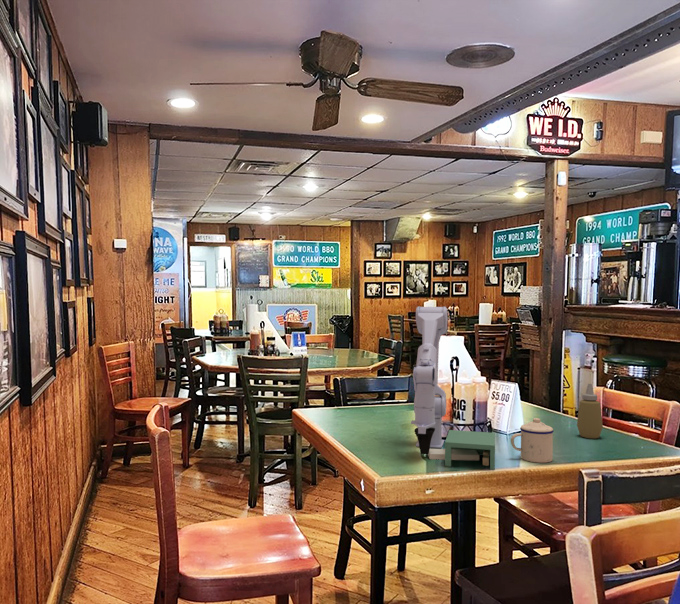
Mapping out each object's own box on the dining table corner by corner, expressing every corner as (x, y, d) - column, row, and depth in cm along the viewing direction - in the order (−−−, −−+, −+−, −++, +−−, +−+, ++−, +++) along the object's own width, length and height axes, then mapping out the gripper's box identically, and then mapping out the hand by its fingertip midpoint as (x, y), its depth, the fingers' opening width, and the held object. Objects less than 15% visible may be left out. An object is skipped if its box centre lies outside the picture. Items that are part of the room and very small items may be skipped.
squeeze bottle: (571, 435, 189) (571, 383, 189) (587, 433, 193) (587, 381, 193) (591, 440, 182) (592, 386, 182) (608, 438, 185) (608, 384, 186)
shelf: (449, 451, 167) (449, 429, 167) (494, 454, 163) (494, 432, 163) (444, 465, 151) (445, 442, 151) (494, 469, 148) (494, 445, 148)
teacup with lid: (546, 454, 164) (546, 415, 164) (558, 463, 155) (558, 421, 155) (505, 454, 164) (506, 415, 164) (516, 463, 154) (516, 421, 155)
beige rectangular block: (427, 455, 164) (427, 448, 164) (475, 456, 163) (475, 449, 163) (429, 460, 158) (429, 453, 158) (479, 462, 157) (479, 454, 157)
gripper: (414, 402, 168) (414, 446, 168) (407, 410, 155) (407, 458, 154) (437, 403, 167) (437, 448, 166) (432, 411, 153) (432, 460, 152)
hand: (424, 453), depth 160 cm, fingers closed
